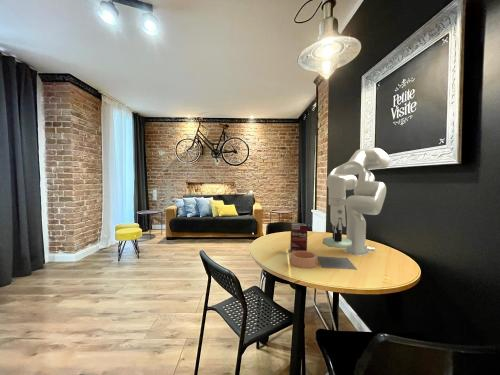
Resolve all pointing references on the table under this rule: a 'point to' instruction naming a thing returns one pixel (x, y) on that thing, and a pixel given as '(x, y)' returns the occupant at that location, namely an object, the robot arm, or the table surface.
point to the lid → (337, 242)
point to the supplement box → (298, 237)
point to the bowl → (304, 259)
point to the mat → (336, 263)
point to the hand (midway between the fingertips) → (337, 239)
